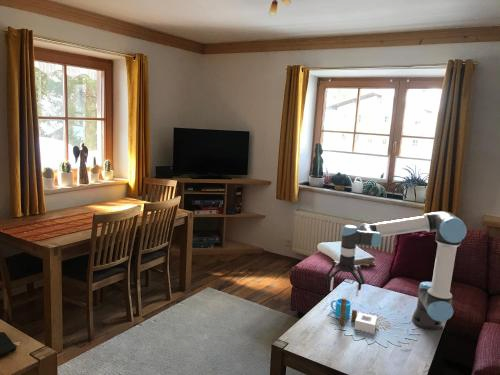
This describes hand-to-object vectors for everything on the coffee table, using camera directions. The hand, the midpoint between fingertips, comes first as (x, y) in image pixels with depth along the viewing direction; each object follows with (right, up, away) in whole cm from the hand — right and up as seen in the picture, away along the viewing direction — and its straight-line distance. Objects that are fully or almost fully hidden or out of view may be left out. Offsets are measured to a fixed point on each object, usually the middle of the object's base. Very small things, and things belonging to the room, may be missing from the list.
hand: (344, 292), depth 213 cm
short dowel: (+7, -18, +9) cm, 21 cm away
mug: (+1, -17, +15) cm, 23 cm away
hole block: (+12, -19, +2) cm, 23 cm away
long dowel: (0, -18, +3) cm, 19 cm away
